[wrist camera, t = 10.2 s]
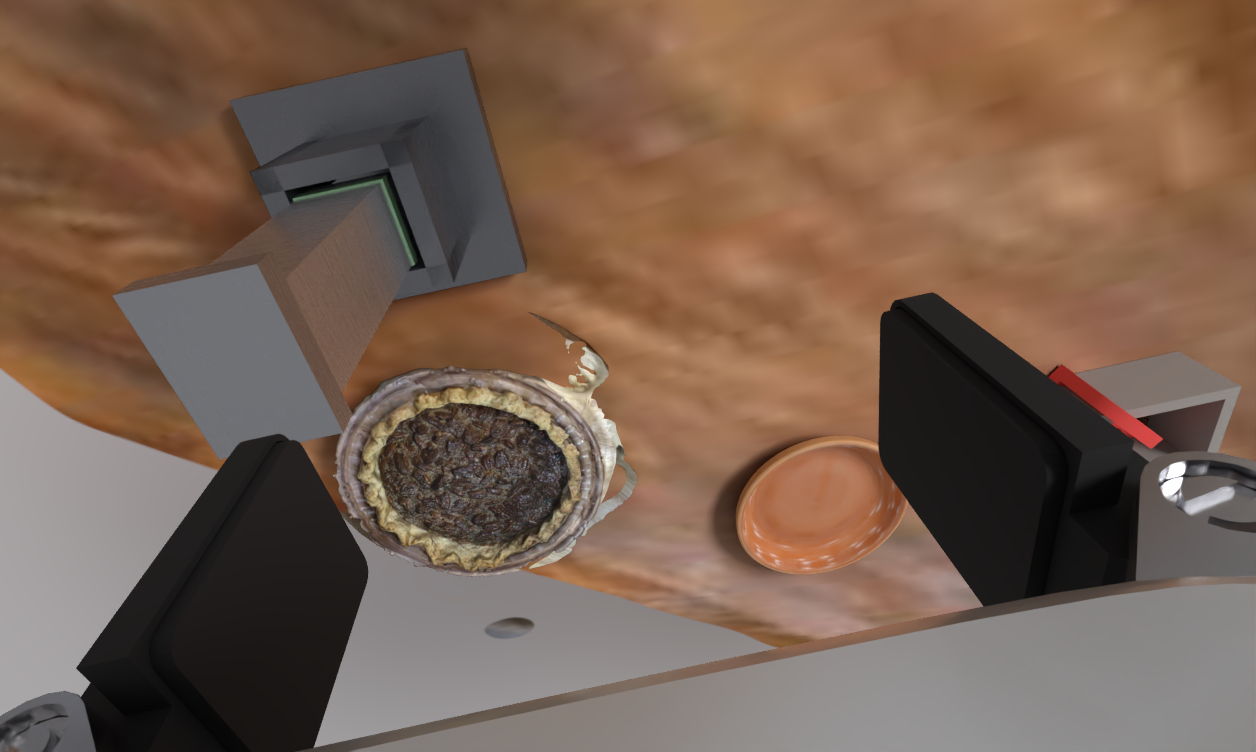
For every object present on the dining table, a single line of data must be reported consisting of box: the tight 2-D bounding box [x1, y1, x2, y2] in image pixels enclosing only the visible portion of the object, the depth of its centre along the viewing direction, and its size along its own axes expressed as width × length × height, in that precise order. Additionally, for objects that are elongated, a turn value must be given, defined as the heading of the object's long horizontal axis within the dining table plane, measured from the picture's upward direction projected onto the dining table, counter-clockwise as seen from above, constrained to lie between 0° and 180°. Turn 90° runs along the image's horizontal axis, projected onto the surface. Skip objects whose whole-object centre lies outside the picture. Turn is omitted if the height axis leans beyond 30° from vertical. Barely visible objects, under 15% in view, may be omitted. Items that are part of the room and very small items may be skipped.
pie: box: [333, 313, 637, 577], centre depth 52 cm, size 28×27×5 cm
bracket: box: [1049, 365, 1163, 449], centre depth 55 cm, size 12×4×8 cm, turn 57°
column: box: [112, 171, 420, 460], centre depth 28 cm, size 6×5×17 cm
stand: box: [230, 48, 527, 300], centre depth 38 cm, size 14×14×11 cm
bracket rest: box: [1061, 351, 1241, 462], centre depth 56 cm, size 9×16×6 cm, turn 101°
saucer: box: [736, 435, 908, 575], centre depth 59 cm, size 16×16×3 cm
